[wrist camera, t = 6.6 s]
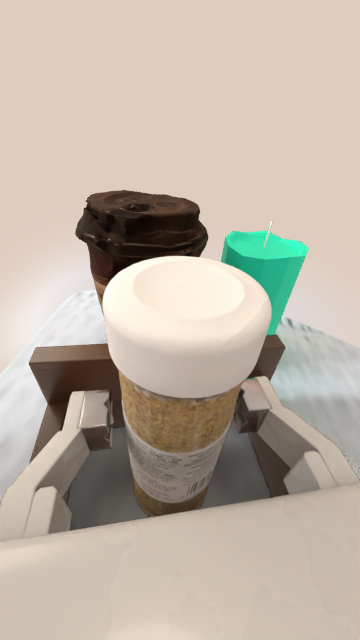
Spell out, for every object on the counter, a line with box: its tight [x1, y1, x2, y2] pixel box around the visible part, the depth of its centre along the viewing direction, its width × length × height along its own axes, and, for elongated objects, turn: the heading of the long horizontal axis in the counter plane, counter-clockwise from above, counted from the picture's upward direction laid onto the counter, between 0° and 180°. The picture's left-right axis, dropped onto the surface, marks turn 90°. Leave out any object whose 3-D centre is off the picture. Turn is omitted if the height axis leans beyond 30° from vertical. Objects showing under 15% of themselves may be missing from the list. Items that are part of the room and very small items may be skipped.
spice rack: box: [29, 334, 291, 504], centre depth 13 cm, size 14×9×7 cm, turn 98°
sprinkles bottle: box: [103, 256, 272, 517], centre depth 11 cm, size 5×5×14 cm
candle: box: [221, 221, 309, 335], centre depth 21 cm, size 6×6×12 cm
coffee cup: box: [75, 190, 208, 316], centre depth 20 cm, size 9×8×13 cm
